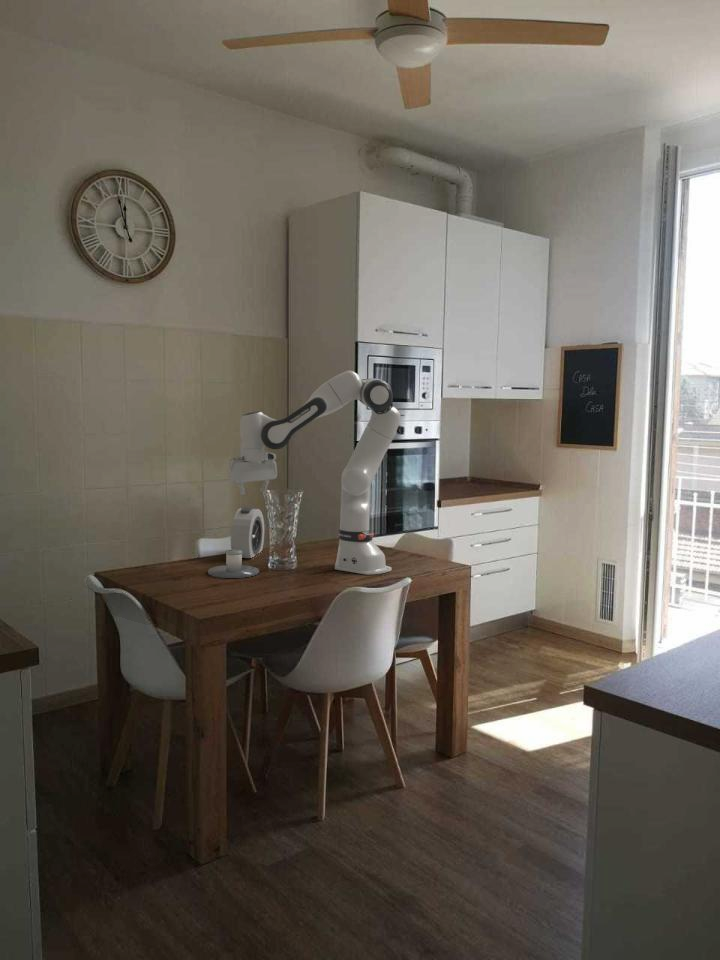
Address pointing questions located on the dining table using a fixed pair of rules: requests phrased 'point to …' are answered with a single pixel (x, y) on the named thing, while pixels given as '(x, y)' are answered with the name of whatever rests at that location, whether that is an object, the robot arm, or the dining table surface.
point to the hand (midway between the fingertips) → (253, 493)
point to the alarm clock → (248, 531)
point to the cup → (233, 560)
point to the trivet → (222, 573)
